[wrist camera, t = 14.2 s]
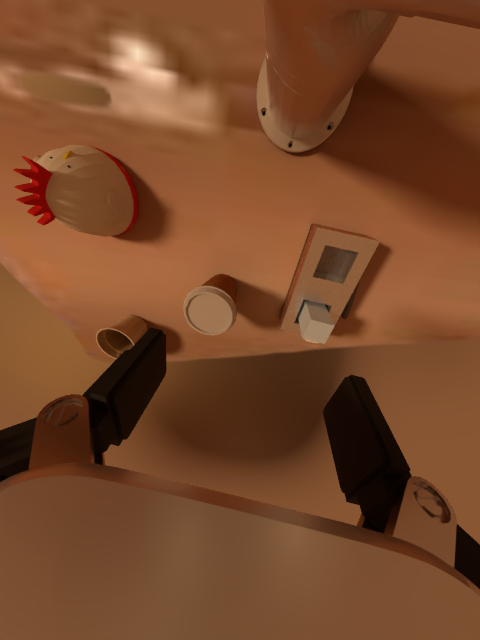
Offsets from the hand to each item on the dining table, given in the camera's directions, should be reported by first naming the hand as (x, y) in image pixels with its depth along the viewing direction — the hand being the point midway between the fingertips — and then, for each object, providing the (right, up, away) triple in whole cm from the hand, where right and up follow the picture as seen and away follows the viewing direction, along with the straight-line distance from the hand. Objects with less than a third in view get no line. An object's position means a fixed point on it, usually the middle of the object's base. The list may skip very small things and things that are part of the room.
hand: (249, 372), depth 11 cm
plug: (+14, +6, +32) cm, 36 cm away
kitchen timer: (-26, +26, +28) cm, 46 cm away
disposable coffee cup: (-4, +10, +34) cm, 36 cm away
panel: (+15, +10, +31) cm, 36 cm away
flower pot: (-28, +2, +43) cm, 51 cm away
